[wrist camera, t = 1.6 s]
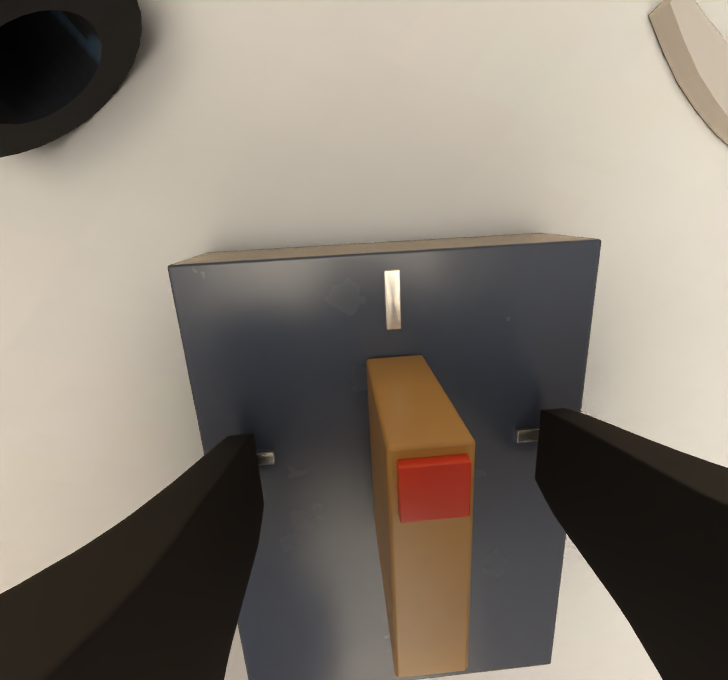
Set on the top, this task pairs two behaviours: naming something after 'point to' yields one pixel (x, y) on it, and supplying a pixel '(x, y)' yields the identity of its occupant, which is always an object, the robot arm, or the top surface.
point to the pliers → (696, 59)
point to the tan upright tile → (421, 514)
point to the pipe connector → (60, 65)
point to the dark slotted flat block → (352, 429)
